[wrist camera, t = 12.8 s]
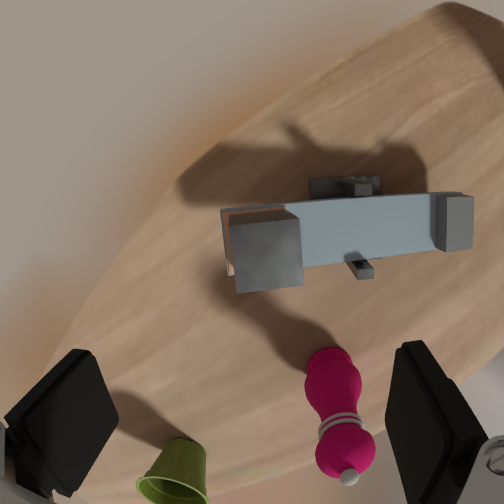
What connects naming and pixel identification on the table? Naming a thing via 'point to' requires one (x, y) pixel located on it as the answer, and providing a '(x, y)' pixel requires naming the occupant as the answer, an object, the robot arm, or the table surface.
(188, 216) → the table surface
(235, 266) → the iron block
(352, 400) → the pepper mill
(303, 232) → the beam
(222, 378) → the table surface
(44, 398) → the robot arm
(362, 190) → the stand
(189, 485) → the plant pot
